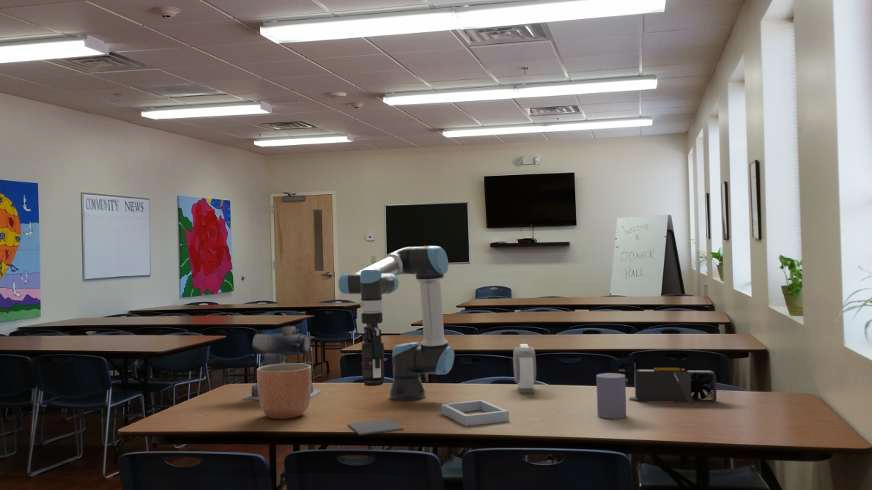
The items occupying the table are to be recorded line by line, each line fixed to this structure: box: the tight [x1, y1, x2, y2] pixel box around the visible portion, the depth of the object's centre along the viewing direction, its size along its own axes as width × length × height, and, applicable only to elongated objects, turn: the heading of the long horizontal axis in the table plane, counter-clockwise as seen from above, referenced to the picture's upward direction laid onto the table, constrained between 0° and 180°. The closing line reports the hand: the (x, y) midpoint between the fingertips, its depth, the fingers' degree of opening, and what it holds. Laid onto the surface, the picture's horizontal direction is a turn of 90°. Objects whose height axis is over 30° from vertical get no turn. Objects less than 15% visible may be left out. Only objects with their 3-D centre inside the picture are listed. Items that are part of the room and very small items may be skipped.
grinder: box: [241, 325, 323, 401], centre depth 334 cm, size 18×31×31 cm, turn 79°
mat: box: [347, 418, 404, 436], centre depth 268 cm, size 16×16×1 cm
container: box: [596, 372, 627, 420], centre depth 275 cm, size 10×10×15 cm
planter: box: [256, 362, 312, 420], centre depth 291 cm, size 21×21×19 cm
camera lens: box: [361, 341, 385, 387], centre depth 268 cm, size 8×8×15 cm
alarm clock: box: [512, 343, 537, 394], centre depth 329 cm, size 18×8×20 cm, turn 179°
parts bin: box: [440, 399, 510, 427], centre depth 280 cm, size 23×17×4 cm
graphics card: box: [628, 362, 717, 404], centre depth 298 cm, size 33×5×14 cm, turn 76°
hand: (373, 375), depth 268 cm, fingers closed on camera lens, 8 cm apart
